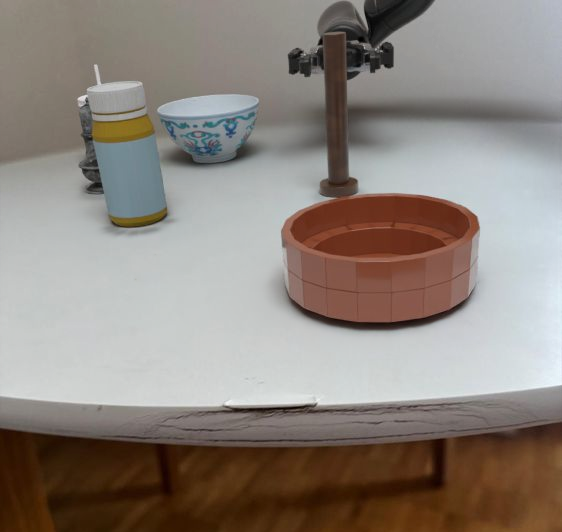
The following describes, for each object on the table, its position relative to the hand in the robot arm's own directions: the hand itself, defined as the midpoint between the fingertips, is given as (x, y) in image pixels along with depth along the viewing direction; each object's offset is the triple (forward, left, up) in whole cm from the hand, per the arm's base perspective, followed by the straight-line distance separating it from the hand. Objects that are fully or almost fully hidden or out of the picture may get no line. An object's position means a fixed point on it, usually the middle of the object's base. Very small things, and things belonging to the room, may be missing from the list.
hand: (339, 66), depth 89 cm
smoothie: (+33, -19, -13) cm, 40 cm away
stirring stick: (+3, +10, -13) cm, 17 cm away
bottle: (+28, +11, -13) cm, 33 cm away
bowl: (+6, +39, -13) cm, 42 cm away
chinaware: (+17, -14, -13) cm, 25 cm away
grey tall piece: (+33, -4, -13) cm, 36 cm away
